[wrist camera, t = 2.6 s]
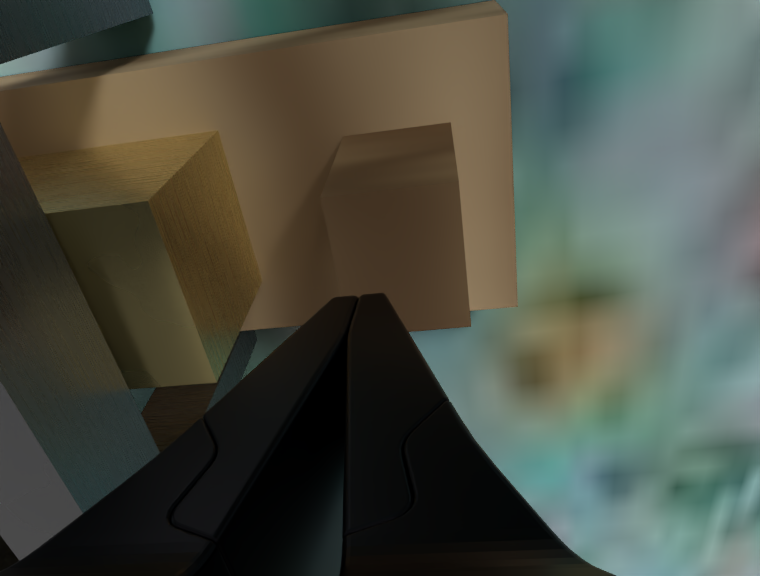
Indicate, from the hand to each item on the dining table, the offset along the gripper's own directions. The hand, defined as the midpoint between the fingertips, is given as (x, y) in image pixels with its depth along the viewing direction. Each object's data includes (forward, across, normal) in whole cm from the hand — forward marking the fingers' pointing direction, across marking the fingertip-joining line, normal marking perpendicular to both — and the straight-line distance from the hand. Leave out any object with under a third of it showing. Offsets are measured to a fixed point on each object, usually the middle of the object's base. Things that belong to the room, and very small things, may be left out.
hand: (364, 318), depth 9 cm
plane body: (+8, +8, 0) cm, 11 cm away
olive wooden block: (+5, +7, 0) cm, 9 cm away
